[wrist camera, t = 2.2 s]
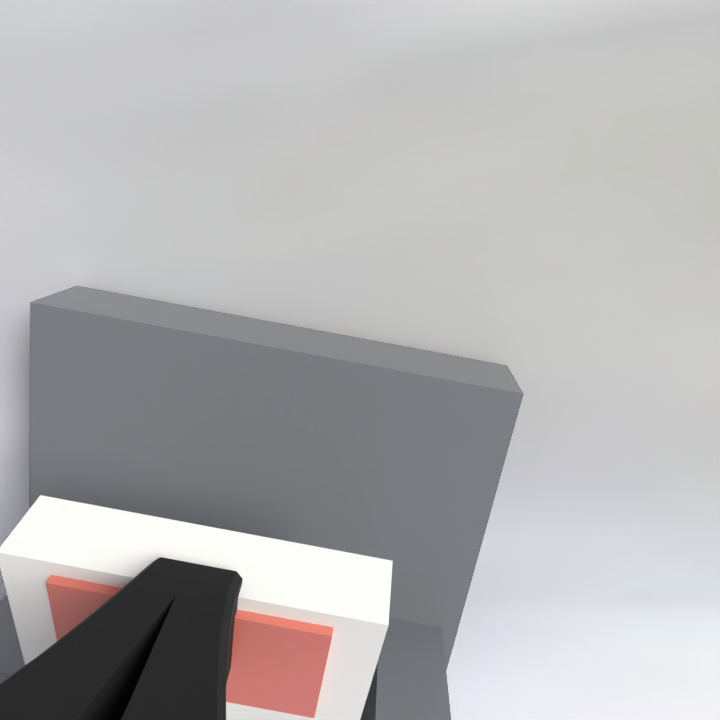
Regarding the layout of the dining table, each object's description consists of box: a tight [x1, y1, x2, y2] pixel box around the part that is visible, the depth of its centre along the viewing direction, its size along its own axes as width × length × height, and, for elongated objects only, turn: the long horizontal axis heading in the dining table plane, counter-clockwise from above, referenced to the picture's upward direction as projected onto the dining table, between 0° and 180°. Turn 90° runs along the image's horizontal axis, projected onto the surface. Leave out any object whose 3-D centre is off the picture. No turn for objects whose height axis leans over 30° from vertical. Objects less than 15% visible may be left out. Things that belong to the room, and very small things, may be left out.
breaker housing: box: [0, 286, 523, 720], centre depth 15 cm, size 16×11×6 cm
